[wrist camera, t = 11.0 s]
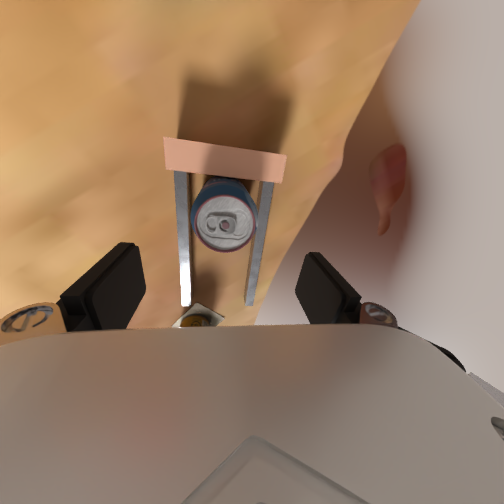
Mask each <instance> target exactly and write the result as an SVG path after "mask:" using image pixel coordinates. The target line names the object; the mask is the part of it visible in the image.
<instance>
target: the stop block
mask: <svg viewBox="0 0 504 504" xmlns="http://www.w3.org/2000/svg"><path fill="white" fill-rule="evenodd" d="M163 140H164V153H165V165H166V169H167V170H175V171H183V172H192V173H200V174H208V175H217V176H225V177H233V178H241V179H250V180H258V181H266V182H275V183H282V179H283V174H284V169H285V163H286V158H287V155H282V154H275V153H269V152H262V151H255V150H249V149H242V148H235V147H229V146H222V145H216V144H209V143H202V142H196V141H189V140H182V139H176V138H169V137H163Z"/></svg>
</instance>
